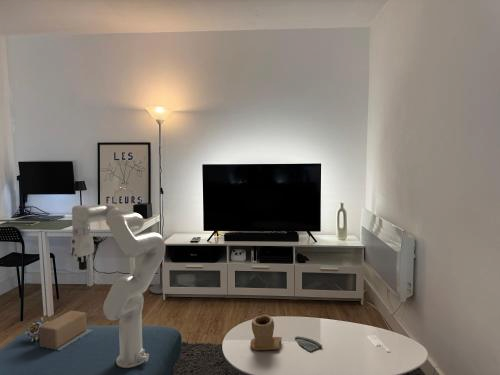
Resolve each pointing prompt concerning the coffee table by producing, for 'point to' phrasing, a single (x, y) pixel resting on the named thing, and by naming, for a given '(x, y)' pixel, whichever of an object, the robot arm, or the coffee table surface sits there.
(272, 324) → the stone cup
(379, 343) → the white plastic blade
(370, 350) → the coffee table surface
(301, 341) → the curved wedge
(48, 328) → the block
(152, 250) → the robot arm
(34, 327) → the passion flower
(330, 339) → the coffee table surface
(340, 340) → the coffee table surface
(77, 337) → the rubber mat
